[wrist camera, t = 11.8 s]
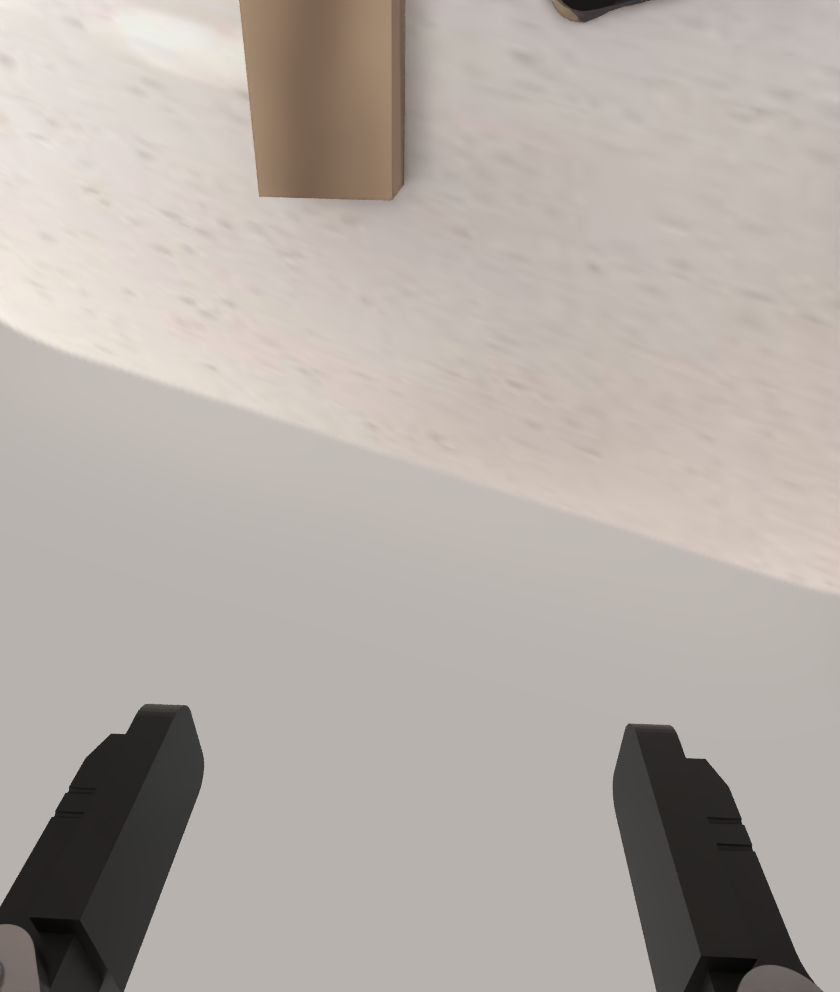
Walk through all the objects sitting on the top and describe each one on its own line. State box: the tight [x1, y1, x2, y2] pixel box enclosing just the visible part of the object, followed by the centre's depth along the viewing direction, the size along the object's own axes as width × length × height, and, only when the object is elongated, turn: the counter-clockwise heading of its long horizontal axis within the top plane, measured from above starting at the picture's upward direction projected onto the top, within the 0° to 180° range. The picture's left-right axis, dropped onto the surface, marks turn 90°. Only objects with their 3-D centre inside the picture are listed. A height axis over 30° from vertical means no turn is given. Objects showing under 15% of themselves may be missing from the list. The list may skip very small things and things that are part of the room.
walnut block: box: [239, 0, 405, 200], centre depth 28 cm, size 6×14×8 cm, turn 179°
